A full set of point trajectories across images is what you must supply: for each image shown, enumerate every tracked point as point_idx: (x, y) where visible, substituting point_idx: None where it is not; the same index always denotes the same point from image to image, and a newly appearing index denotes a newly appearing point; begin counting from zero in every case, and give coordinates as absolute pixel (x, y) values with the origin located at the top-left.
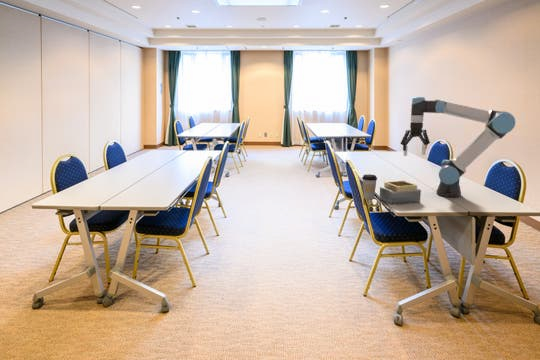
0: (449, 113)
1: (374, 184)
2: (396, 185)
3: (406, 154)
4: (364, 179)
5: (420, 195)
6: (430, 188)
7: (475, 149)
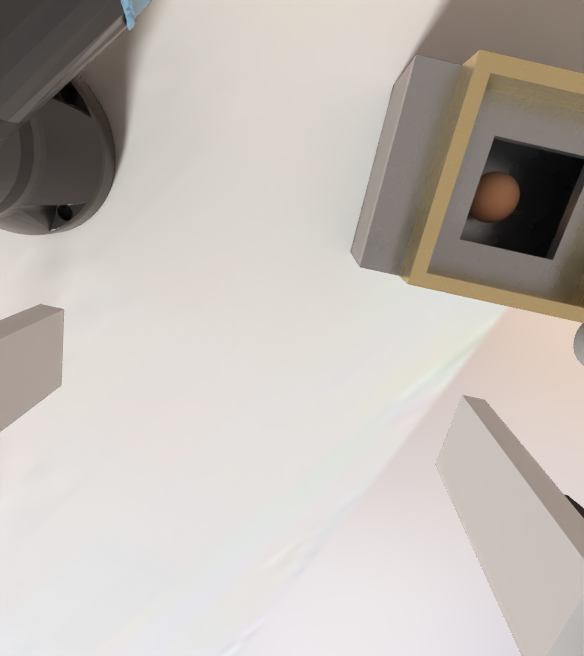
0: None
1: None
2: (480, 280)
3: (488, 412)
4: None
5: (405, 70)
6: None
7: None
